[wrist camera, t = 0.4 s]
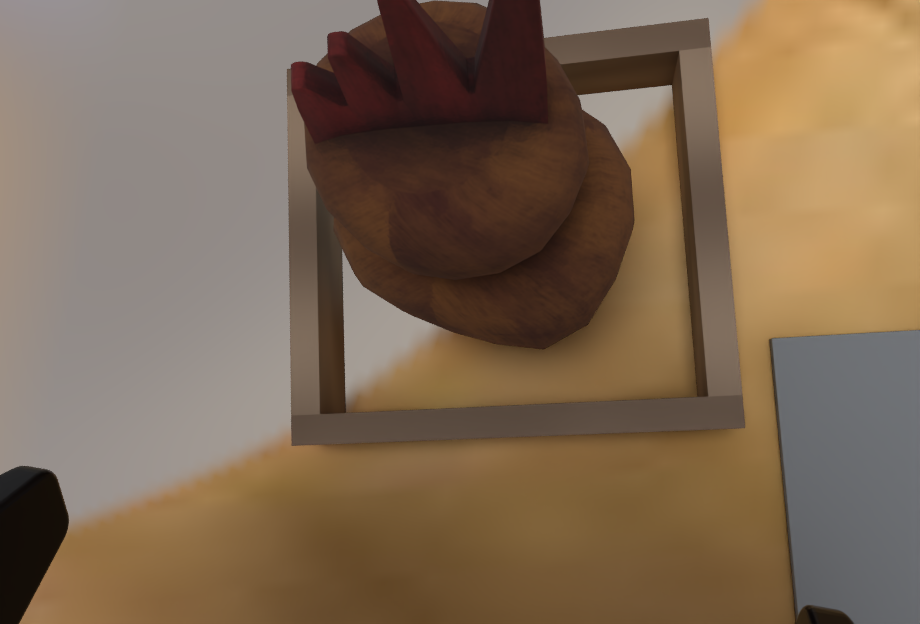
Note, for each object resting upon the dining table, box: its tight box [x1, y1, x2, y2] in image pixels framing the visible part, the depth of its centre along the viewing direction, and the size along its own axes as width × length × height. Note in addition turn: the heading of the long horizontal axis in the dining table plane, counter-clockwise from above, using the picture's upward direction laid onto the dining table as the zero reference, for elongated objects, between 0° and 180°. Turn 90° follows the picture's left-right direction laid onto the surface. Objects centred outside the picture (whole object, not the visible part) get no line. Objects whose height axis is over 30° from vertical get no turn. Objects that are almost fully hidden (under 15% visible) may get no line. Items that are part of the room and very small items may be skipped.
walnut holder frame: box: [287, 18, 745, 446], centre depth 22 cm, size 11×12×2 cm
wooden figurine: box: [291, 0, 634, 349], centre depth 16 cm, size 7×6×15 cm
